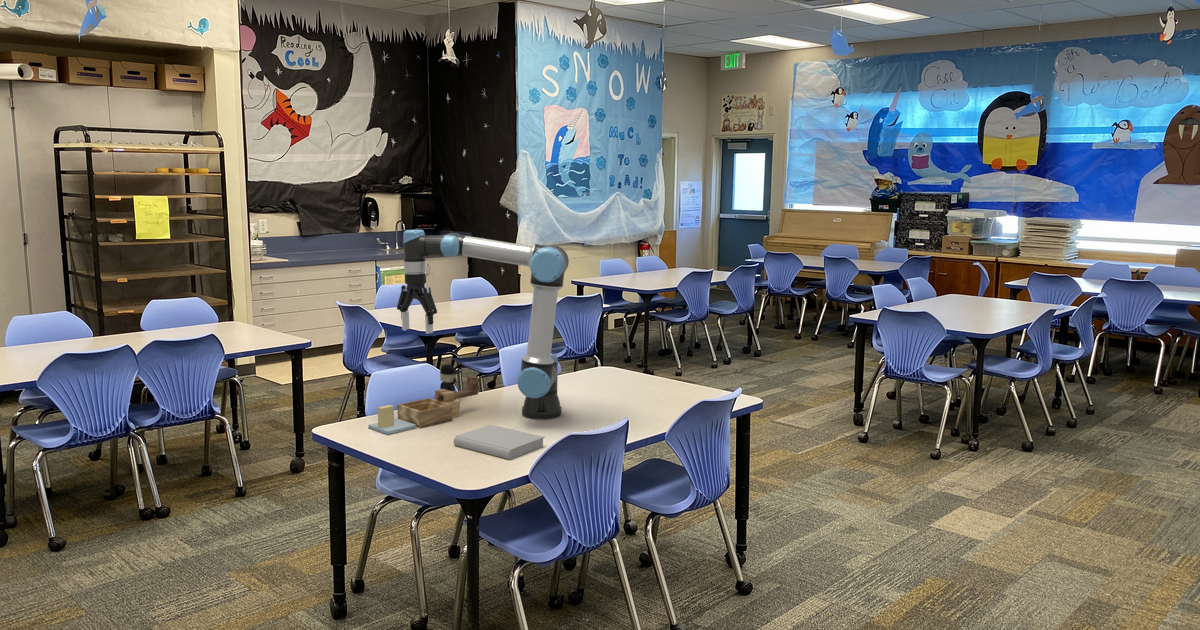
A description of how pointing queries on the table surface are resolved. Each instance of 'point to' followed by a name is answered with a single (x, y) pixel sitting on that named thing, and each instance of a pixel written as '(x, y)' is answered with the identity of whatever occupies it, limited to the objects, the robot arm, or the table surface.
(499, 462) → the table surface
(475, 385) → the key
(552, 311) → the robot arm
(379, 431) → the mat
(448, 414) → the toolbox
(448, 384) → the toy
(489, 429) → the book
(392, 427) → the lid
